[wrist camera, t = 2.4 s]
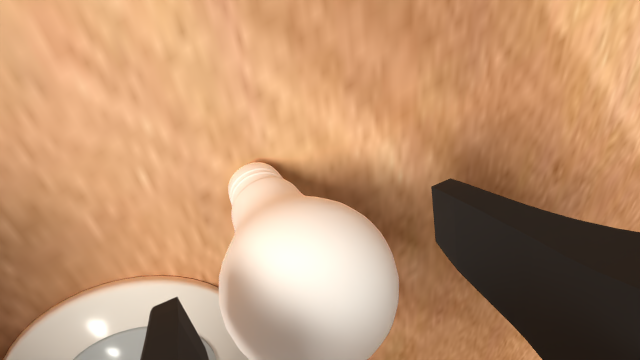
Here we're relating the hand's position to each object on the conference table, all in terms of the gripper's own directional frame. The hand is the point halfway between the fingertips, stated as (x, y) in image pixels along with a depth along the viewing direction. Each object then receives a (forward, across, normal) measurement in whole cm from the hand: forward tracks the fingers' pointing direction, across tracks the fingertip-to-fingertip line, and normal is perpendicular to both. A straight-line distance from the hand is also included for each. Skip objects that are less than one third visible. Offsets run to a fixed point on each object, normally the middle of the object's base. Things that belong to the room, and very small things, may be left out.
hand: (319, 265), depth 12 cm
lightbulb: (+11, 0, +3) cm, 11 cm away
